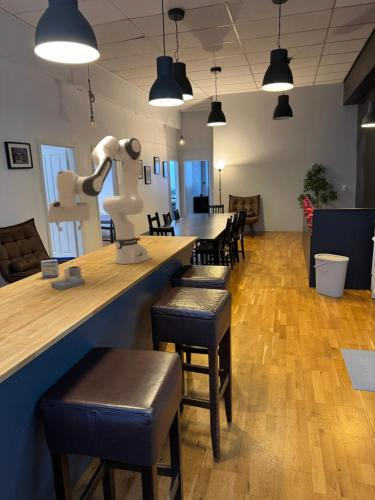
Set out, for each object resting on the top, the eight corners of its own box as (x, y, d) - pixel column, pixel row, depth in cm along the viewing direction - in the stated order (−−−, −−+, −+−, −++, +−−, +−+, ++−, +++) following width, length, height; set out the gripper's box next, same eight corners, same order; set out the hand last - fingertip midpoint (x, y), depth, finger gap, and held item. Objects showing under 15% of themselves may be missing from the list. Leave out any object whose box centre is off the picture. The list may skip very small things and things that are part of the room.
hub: (77, 274, 185) (76, 265, 184) (83, 276, 181) (82, 267, 180) (65, 277, 180) (64, 268, 179) (72, 279, 176) (71, 270, 175)
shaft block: (74, 280, 175) (72, 265, 173) (85, 283, 168) (83, 268, 167) (51, 286, 166) (49, 271, 165) (61, 290, 160) (59, 274, 158)
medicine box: (42, 278, 181) (40, 262, 179) (43, 276, 185) (41, 260, 183) (58, 276, 183) (56, 260, 181) (59, 274, 187) (57, 258, 185)
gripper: (87, 201, 182) (89, 228, 185) (45, 203, 172) (48, 231, 175) (90, 202, 177) (92, 229, 179) (47, 204, 167) (50, 232, 170)
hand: (70, 230), depth 177 cm, fingers open, 8 cm apart
